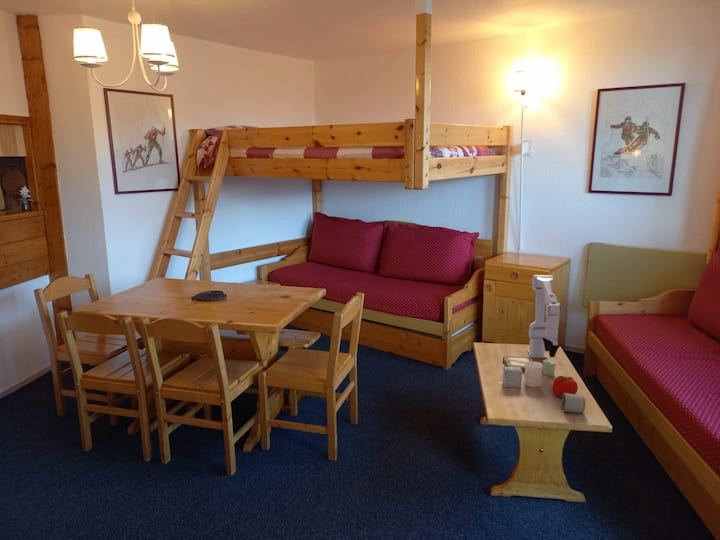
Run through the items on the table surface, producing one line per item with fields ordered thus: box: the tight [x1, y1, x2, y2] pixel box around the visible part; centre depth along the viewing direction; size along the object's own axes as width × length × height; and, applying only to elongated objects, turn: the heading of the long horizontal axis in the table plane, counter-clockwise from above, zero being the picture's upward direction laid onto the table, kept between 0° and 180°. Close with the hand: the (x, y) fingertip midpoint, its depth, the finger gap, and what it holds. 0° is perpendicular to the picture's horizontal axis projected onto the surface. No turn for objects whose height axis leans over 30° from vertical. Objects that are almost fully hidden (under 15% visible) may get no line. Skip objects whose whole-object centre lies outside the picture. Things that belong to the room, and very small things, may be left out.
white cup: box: [524, 361, 543, 388], centre depth 242 cm, size 8×8×10 cm
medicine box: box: [502, 366, 523, 389], centre depth 241 cm, size 8×4×9 cm, turn 84°
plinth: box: [502, 356, 533, 373], centre depth 263 cm, size 14×14×2 cm
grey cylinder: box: [561, 393, 586, 414], centre depth 219 cm, size 11×8×8 cm
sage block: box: [542, 359, 556, 376], centre depth 254 cm, size 4×4×6 cm
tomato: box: [551, 375, 579, 398], centre depth 231 cm, size 11×11×9 cm
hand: (549, 353), depth 253 cm, fingers open, 7 cm apart
